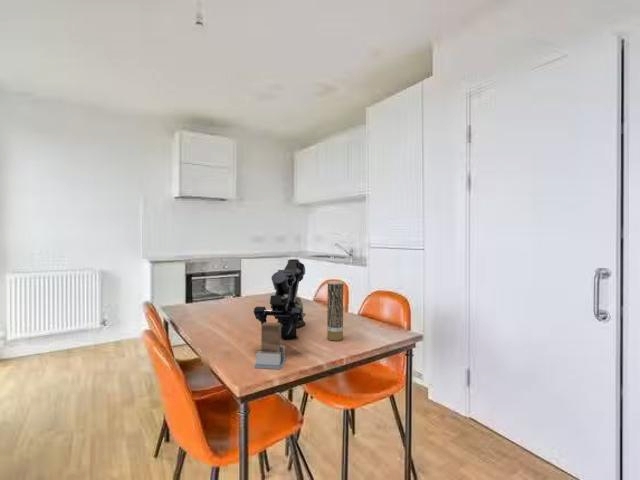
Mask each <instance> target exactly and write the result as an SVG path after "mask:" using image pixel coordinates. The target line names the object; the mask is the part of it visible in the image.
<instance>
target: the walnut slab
mask: <svg viewBox="0 0 640 480" xmlns="http://www.w3.org/2000/svg"><path fill="white" fill-rule="evenodd" d="M260 332H261V334H260V335H261V350H260V351H268V352H280V345H281V339H282V338H281V323H277V322H267V321H266V322H264V323H263V324H262V326H261V331H260Z"/></svg>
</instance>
